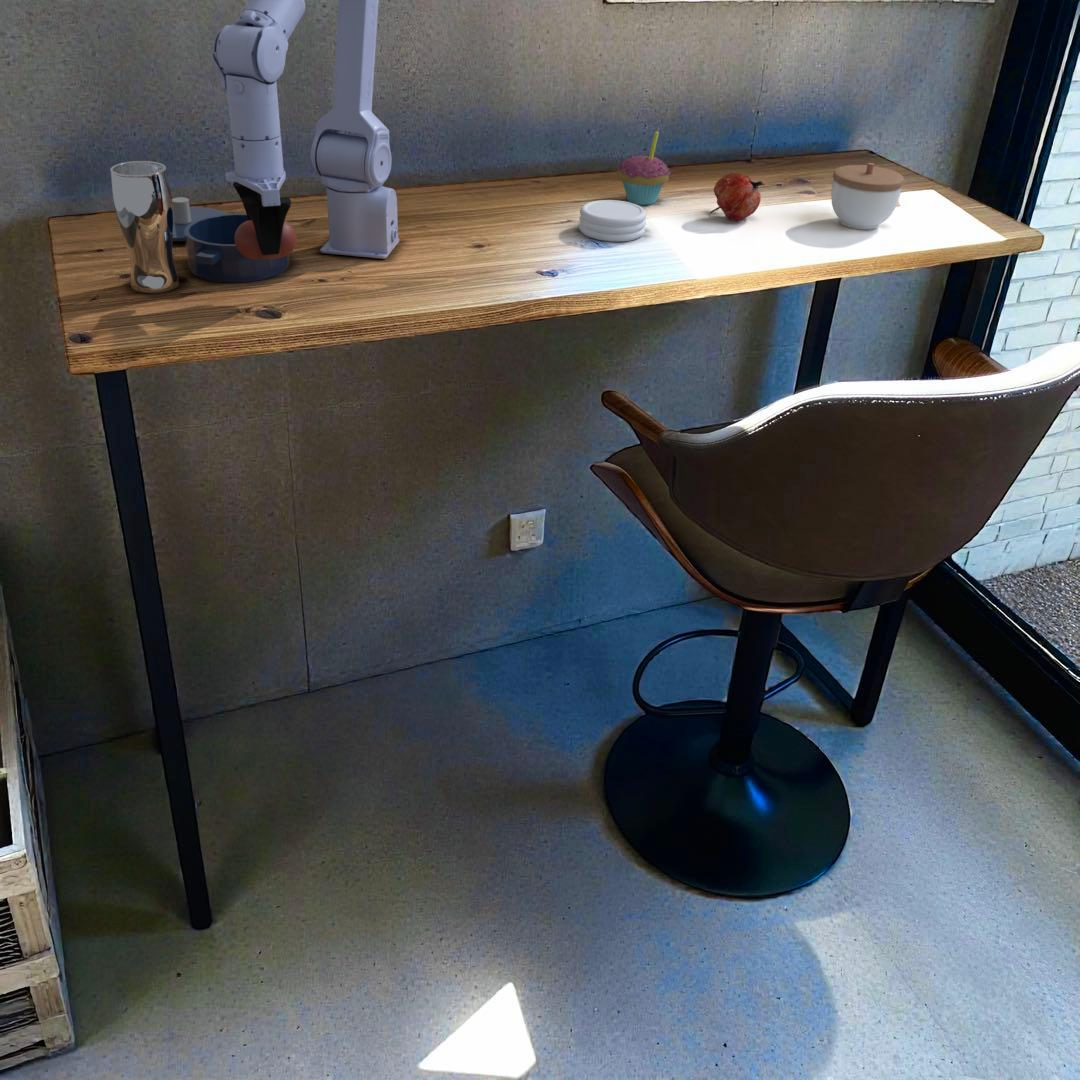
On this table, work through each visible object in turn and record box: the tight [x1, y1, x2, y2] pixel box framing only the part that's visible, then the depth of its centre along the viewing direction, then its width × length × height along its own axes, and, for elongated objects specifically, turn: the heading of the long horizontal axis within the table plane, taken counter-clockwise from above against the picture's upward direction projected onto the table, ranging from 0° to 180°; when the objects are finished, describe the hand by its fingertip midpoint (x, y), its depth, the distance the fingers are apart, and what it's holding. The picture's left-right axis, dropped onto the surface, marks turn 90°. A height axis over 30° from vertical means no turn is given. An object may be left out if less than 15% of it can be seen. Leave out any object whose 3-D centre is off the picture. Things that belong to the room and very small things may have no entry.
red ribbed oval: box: [234, 220, 298, 260], centre depth 145 cm, size 8×5×5 cm, turn 111°
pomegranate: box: [709, 172, 766, 222], centre depth 183 cm, size 7×7×10 cm
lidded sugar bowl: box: [830, 162, 905, 231], centre depth 182 cm, size 11×11×9 cm
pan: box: [184, 213, 290, 284], centre depth 157 cm, size 13×19×5 cm
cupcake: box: [616, 127, 672, 206], centre depth 187 cm, size 9×8×12 cm
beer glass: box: [109, 160, 180, 294], centre depth 147 cm, size 7×7×15 cm
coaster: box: [578, 199, 647, 243], centre depth 175 cm, size 10×10×4 cm
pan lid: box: [172, 196, 228, 242], centre depth 168 cm, size 14×14×4 cm
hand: (266, 246), depth 146 cm, fingers closed on red ribbed oval, 5 cm apart
